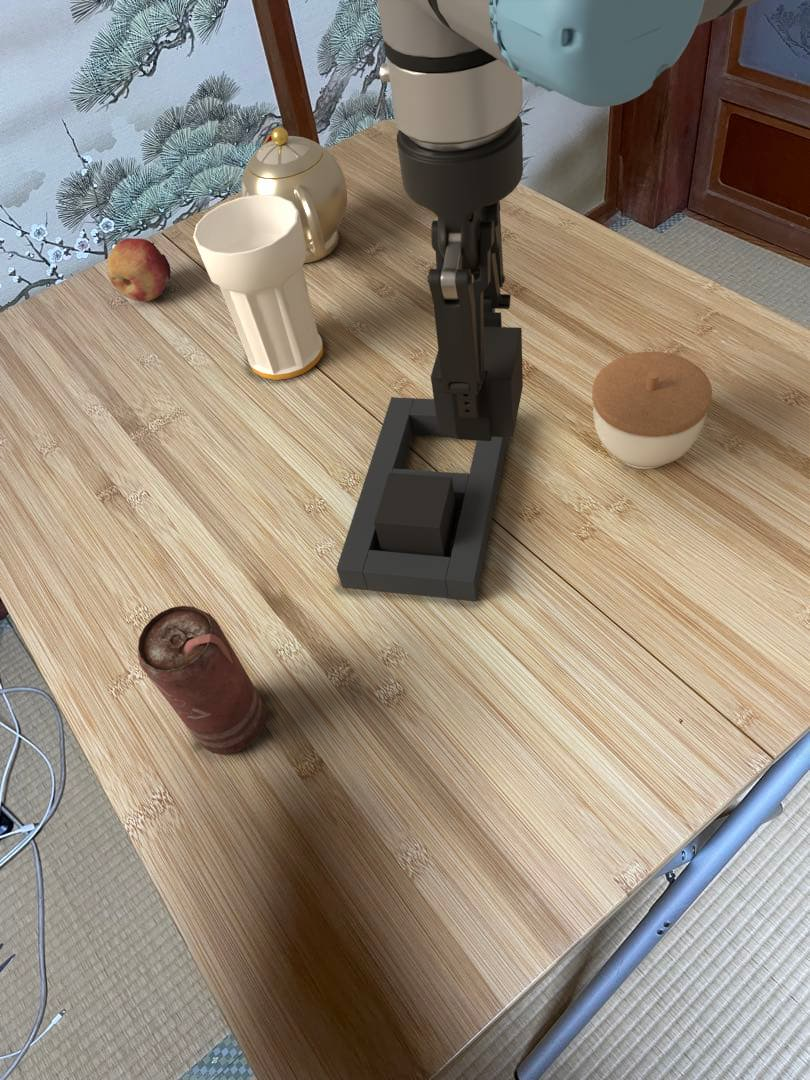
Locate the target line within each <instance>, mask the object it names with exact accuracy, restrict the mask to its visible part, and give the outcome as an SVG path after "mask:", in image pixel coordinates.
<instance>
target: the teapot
mask: <svg viewBox="0 0 810 1080" xmlns="http://www.w3.org/2000/svg"><path fill="white" fill-rule="evenodd" d="M271 131H272V132H271V133H270V134H268V135H267V137H266V138H265V140H264V142H262V144H261V146H260V147H259V148H258V149H257V150H255V152H254V153H253V154H252V156H251V157H250V159H249V160H248V161H247V164H246V165H245V168H244V171H243V174H242V177H241V185H240V193H241V197H246V196H253V195H260V194H262V195H273V196H280V197H282V198H284V199H286V200H289V201H291V202H293V204H294V205H295V207H296V208H297V210H298V211H299V214H300V219H301V224H302V228H303V233H304V238H305V242H306V247H307V249H306V259H305V261H304V263H303V264H309V263H313V262H317V261H319V260H322V259H323V258H326V257H328V256H329V255H330V254H331V253H332V252H333V251H334V250H335V249H336V247H337V245H338V244H339V231H338V229H339V227H340V226H341V224H342V222H343V219H344V217H345V213H346V211H347V205H348V187H347V182H346V178H345V175H344V172H343V170H342V168H341V166H340V164H339V163H338V161H337V160H336V158H335V157H334V155H332V154H331V153H330V152H329V151H328V150H327V149H326V148H325V147H324V146H322V145H321V144H320V143H318V142H316V141H314V140H312V139H309V138H306V137H302V136H297V135H296V136H295V135H289V133H288V131H287V130H286V128H284V127H282V126H277V127H275V128H273V129H272V130H271Z"/></svg>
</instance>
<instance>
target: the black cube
mask: <svg viewBox="0 0 810 1080" xmlns="http://www.w3.org/2000/svg"><path fill="white" fill-rule="evenodd" d="M522 332H523V329H522V327H517V326H516V327H514V326H510V327H509V326H508V327H507V326H502V327H485V326H484V371H488V381H489V396H490V410H491V424H492V437H506V438H508V439H513V438H514V435H515V431H516V425H517V420H518V415H519V408H520V404H521V399H522V393H523V389H524V388H523V387H524V376H523V335H522V334H523V333H522ZM440 372H441V370H440V361H439V351H438V350H437V353H436V355H435V360H434V363H433V367H432V370H431V374H430V381H431V389H432V397H433V399H434V405H435V412H436V419H437V426H438V433H441V434H456V428H455V419H454V410H453V402H452V394H451V393H443V389H442V387H441V383H442V382H438V378H437V377H438V375H439V373H440Z"/></svg>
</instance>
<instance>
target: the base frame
mask: <svg viewBox="0 0 810 1080" xmlns="http://www.w3.org/2000/svg"><path fill="white" fill-rule="evenodd" d="M413 436H428V437H445V438H457V436H456V434H441V433H438V426H437V419H436V412H435V405H434V398H420V397H419V398H418V397H417V398H416V397H396V396H395V397H394V396H392V397H390V401H389V404H388V406H387V409H386V413H385V417H384V419H383V421H382V425H381V428H380V432H379V435H378V438H377V441H376V444H375V447H374V449H373V453H372V456H371V460H370V462H369V466H368V469H367V471H366V475H365V478H364V480H363V481H364V482H363V485H362V488H361V491H360V494H359V497H358V499H357V503H356V507H355V510H354V513H353V516H352V519H351V522H350V525H349V529H348V532H347V534H346V538H345V540H344V544H343V547H342V550H341V553H340V557H339V559H338V561H337V562H338V563H337V565H336V572H337V575H338V578H339V581H340V584H341V587H342V588H343V589H351V590H352V589H353V590H364V591H373V592H382V593H393V594H400V595H401V594H403V595H413V596H421V597H432V598H443V599H449V600H460V601H469V602H470V601H471V602H477V600H478V594H479V591H480V589H479V588H480V584H481V579H482V575H483V574H482V573H483V569H484V564H485V558H486V553H487V548H488V543H489V537H490V533H491V528H492V524H493V523H492V522H493V517H494V512H495V507H496V501H497V496H498V491H499V486H500V481H501V475H502V470H503V467H504V466H503V465H504V460H505V455H506V450H507V446H508V445H507V444H508V439H509V438H506V437H492V438H491V441H479V440H476V442H475V447H474V452H473V456H472V460H471V465H470V469H469V473H466V472H465V473H464V472H453V471H451V472H450V471H437V470H436V471H435V470H434V471H433V470H421V469H405V468H404V467H405V464H406V460H407V456H408V453H409V449H410V446H411V443H412V439H413ZM389 473H399V474H413V475H427V476H442V477H452V481H453V489H454V496H455V504H456V511H457V513H460V515H459V519H458V522H457V526H456V527H457V528H456V532H455V535H454V540H453V544H452V545H453V546H452V549H451V555H450V556H449V557H442V556H431V555H420V554H409V553H398V552H387V551H381V547H380V543H379V540H378V536H377V532H376V528H375V524H374V521H375V517H376V514H377V511H378V507H379V504H380V501H381V497H382V494H383V491H384V488H385V484H386V481H387V478H388V474H389Z"/></svg>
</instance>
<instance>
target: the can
mask: <svg viewBox="0 0 810 1080" xmlns="http://www.w3.org/2000/svg"><path fill="white" fill-rule="evenodd" d="M137 643H138V644H137V650H138V651H137V658H138V662H139V666H140V668H141V669H142V670H143V671H144V673H145V674H146V675H147V677H148V678H149V680H150V681H151V682H152V683H153V685H154V686H155V687H156V689H157V690H158V691H159V692H160V693H161V695H162V697H164V699H165V700H166V702H167V703H168V704H169V705H170V707H171V708H172V709H173V711H174V712H175V713H176V714H177V716H178V717H179V718H180V719H181V721H182V722H183V723H184V725H185V726H186V727H187V728H188V730H189V731H190V732H191V734H192V735H193V736H194V737H195V739H196V740H197V741H198V743H199V744H200V745H201V747H202V748H203V749H204V750H206V751H208V752H210V753H212V754H215V755H221V756H226V755H232V754H233V755H234V754H236V753H238V752H240V751H243V750H245V749H247V748H248V747H249V746H251V745H252V744H253V743H254V742H255V741H256V740H257V739H258V737H259V736H260V735H261V733H262V732H263V730H264V726H265V724H266V720H267V708H266V706H265V703H264V701H263V699H262V697H261V695H260V693H259V692H258V690H257V689H256V687H255V685H254V683H253V682H252V679H251V678H250V676H249V674H248V673H247V671H246V669H245V667H244V666H243V664H242V662H241V661H240V659H239V657H238V655H237V654H236V652H235V650H234V648H233V647H232V645H231V644H230V642H229V640H228V639H227V636H226V635H225V633H224V631H223V630H222V628H221V625H220V624H219V623H218V621H217V620H216V619H215V618H214V616H212V615H211V613H208V612H206V611H204V610H202V609H199V608H197V607H195V606H190V605H178V606H172V607H169V608H168V609H165V610H163V611H161V612H159V613H158V614H157V615H155V616H153V617H152V618H150V620H149V621H148V622H147V624H146V625H145V626H144V627H143V629H142V631H141V633H140V636H139V637H138V642H137Z"/></svg>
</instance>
